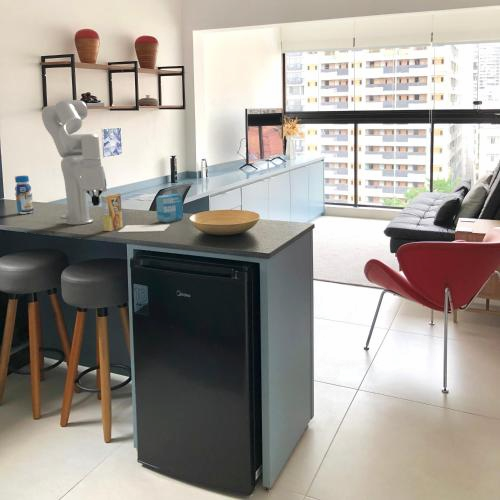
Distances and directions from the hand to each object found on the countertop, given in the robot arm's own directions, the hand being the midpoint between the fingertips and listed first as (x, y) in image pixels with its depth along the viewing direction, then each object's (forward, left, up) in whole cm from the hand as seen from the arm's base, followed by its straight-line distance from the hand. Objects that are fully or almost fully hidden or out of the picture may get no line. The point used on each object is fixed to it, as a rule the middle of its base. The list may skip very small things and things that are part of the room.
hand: (96, 205), depth 260 cm
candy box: (+7, 0, -11) cm, 13 cm away
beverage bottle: (-56, +53, -11) cm, 78 cm away
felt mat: (+21, 0, -11) cm, 23 cm away
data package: (+29, +19, -11) cm, 36 cm away
